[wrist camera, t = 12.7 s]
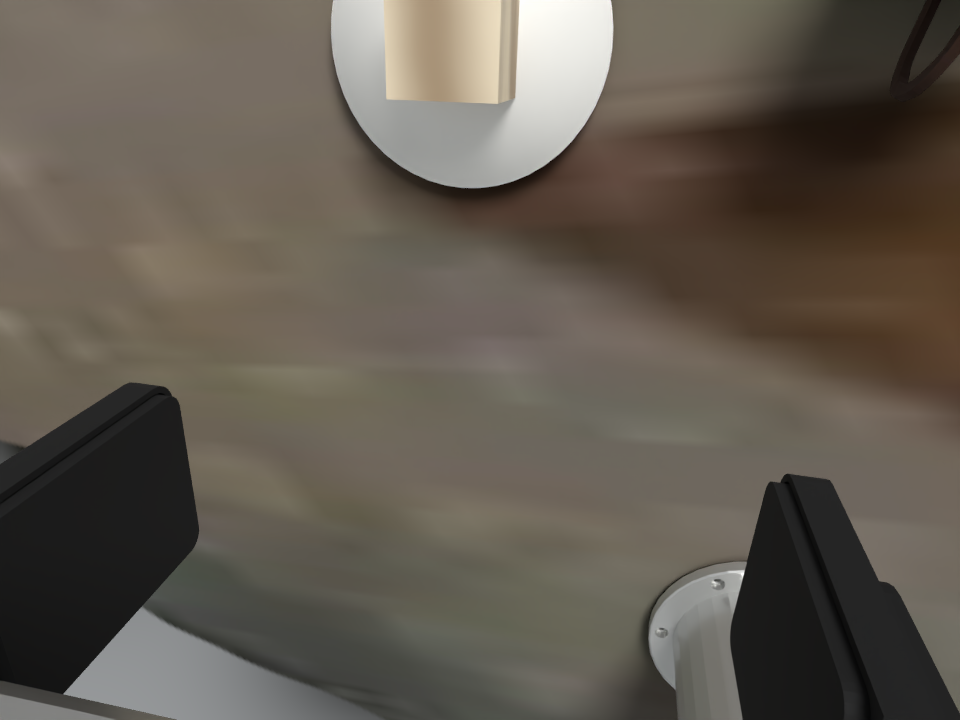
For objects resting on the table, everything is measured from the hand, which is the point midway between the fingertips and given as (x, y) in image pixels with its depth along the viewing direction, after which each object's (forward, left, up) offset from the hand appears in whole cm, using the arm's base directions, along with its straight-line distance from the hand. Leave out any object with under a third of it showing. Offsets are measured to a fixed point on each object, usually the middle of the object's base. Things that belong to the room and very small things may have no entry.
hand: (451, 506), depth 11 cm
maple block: (+6, -7, -27) cm, 29 cm away
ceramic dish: (+6, -7, -28) cm, 30 cm away
